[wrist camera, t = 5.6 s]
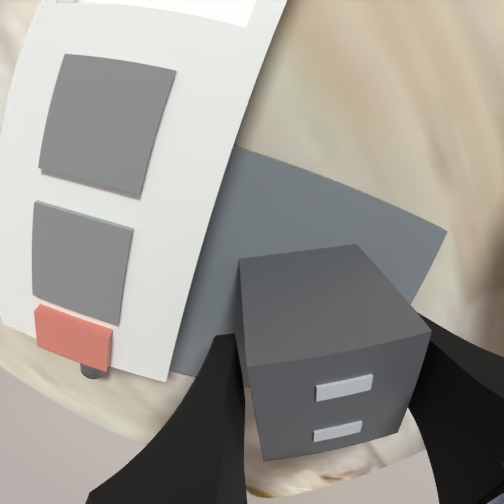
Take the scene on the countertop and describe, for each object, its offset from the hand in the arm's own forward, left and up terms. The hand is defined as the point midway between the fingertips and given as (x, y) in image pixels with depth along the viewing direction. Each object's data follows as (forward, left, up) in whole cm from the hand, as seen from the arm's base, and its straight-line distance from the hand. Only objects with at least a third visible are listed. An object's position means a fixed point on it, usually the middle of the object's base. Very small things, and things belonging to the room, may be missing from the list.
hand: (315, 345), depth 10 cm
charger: (0, 0, -2) cm, 2 cm away
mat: (0, 0, -3) cm, 3 cm away
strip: (+8, -7, -3) cm, 11 cm away
